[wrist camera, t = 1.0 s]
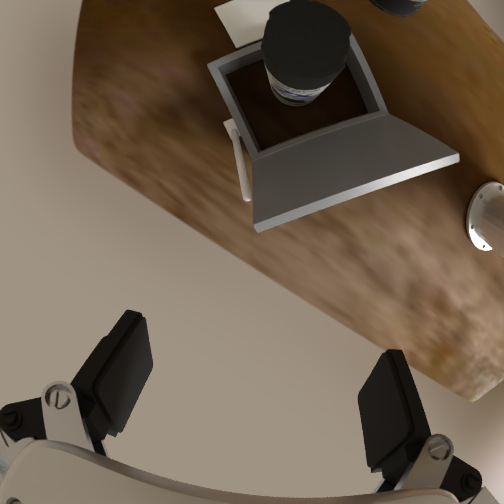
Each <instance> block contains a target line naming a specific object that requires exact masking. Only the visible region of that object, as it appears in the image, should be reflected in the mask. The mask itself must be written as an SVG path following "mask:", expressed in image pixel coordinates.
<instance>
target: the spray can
mask: <svg viewBox="0 0 504 504" xmlns="http://www.w3.org/2000/svg"><path fill="white" fill-rule="evenodd" d="M351 33H352V32H351V28H350V26H349V24H348V22H347V21H346V20H345V18H344V17H343V16H342V15H340V14H339V13H338V12H336V11H335V10H334V9H332V8H331V7H329V6H327V5H324V4H321V3H319V2H317V1H310V0H293V1H288V2H285V3H282V4H279V5H277V6H276V7H274V8H273V9H272V10H271V11H269V19H268V20H267V22H266V26H265V30H264V36H263V38H262V44H261V46H260V47H261V51H262V55H263V60H264V64H265V67H266V71H267V75H268V78H269V82H270V86H271V89H272V92H273V93H274V95H275V96H276V97H277V98H278V99H279V100H280V101H281V102H283V103H285V104H287V105H290V106H304V105H307V104H309V103H311V102H312V101H314V100H315V99H316V98H317V96H318V95H319V94H320V93H321V92H322V91H323V90H324V89H325V88H326V87H328V86H329V85H330V83H331V82H332V81H333V80H334V79H335V78H336V77H337V76H338V74H339V73H340V72H341V71H342V70H343V69H344V68H345V63H346V59H347V54H348V51H349V49H350V38H349V37H350V36H351Z"/></svg>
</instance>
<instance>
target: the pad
mask: <svg viewBox="0 0 504 504" xmlns="http://www.w3.org/2000/svg"><path fill="white" fill-rule="evenodd" d="M288 1H290V0H233V1H230V2H228V3H225V4H223V5H220V6H218V7H216V8H214V9H215V11H216V13H217V14H218V16H219V18H220V19H221V21H222V23H223V25H224V27H225V28H226V30H227V32H228V34H229V36H230V37H231V39H232V41H233V43H234V45H235V47H236V48H237V49H239V48H241V47H243V46H246V45H248V44H251V43H253V42H256V41H259V40H261V39H262V38H263V36H264V30H265V26H266V22H267V20H268V19H269V11H271V10H272V9H273V8H274V7H276V6H277V5H279V4H282V3H285V2H288Z"/></svg>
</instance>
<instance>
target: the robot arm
mask: <svg viewBox="0 0 504 504" xmlns="http://www.w3.org/2000/svg"><path fill="white" fill-rule="evenodd" d="M466 228H467V233H468V236H469V239H470V240H471V242H472V243H473V244H474V245H475V246H476V247H477V248H479V249H481V250H491V249H493V250H495V251H496V252H497V253H498V254H500V255H501V256H502V257H503V258H504V185H502V184H500V183H498V182H495V181H490V182H487V183H485V184H483V185H482V186H480V187H479V189H478V190H477V191H476V192H475V194H474V195H473V197H472V199H471V201H470V204H469V207H468V211H467V218H466ZM152 368H153V360H152V354H151V348H150V342H149V336H148V330H147V323H146V319H145V317H143V316H142V314H141V313H140V312H136V311H132V310H126V311H125V313H124V314H123V315H122V316H121V318H120V319H119V320H118V322H117V323H116V325H115V326H114V327H113V329H112V330H111V331H110V333H109V334H108V335H107V336H105V337H103V338H102V339H101V341H100V342H99V343H98V345H97V346H96V348H95V349H94V350H93V352H92V353H91V354H90V356H89V357H88V359H87V360H86V361H85V363H84V365H83V366H82V367H81V369H80V370H79V372H78V373H77V374H76V376H75V377H74V379H73V380H72V382H71V383H70V384H68V383H66V382H63V381H55V382H52V383H50V384H49V385H47V386H46V387H45V388H44V390H43V392H42V396H41V397H39V398H35V399H30V400H26V401H21V402H16V403H11V404H8V405H5V406H4V407H3V408H2V409H1V410H0V504H499V503H498V502H497V500H496V499H495V498H494V497H493V496H492V494H491V493H490V492H489V491H488V490H487V488H486V487H485V486H484V487H481V486H482V477H481V474H480V472H479V471H478V470H477V469H475V468H473V467H472V466H470V465H468V464H467V463H465V462H464V461H462V460H460V459H459V458H457V457H456V456H454V455H453V453H454V447H453V444H452V441H451V440H450V439H449V438H448V437H446V436H445V435H442V434H434V435H431V432H430V428H429V425H428V422H427V418H426V415H425V412H424V409H423V406H422V403H421V400H420V397H419V394H418V391H417V388H416V385H415V383H414V380H413V377H412V374H411V372H410V369H409V366H408V364H407V361H406V359H405V356H404V354H403V352H402V350H396V349H388V350H387V351H386V352H385V353H382V355H381V356H380V358H379V360H378V362H377V364H376V366H375V367H374V369H373V370H372V372H371V374H370V376H369V377H368V379H367V380H366V382H365V384H364V385H363V387H362V389H361V390H360V392H359V394H358V404H359V410H360V417H361V423H362V430H363V436H364V444H365V451H366V459H367V465H368V467H371V473H375V472H382V475H383V478H382V479H381V481H380V482H379V484H378V485H377V486H376V488H375V489H374V491H373V492H372V493H371V494H364V495H354V496H343V497H329V498H328V497H327V498H286V497H285V498H284V497H269V496H257V495H248V494H240V493H232V492H226V491H220V490H215V489H210V488H205V487H200V486H195V485H191V484H187V483H182V482H179V481H175V480H171V479H168V478H165V477H161V476H158V475H155V474H152V473H149V472H146V471H143V470H140V469H137V468H134V467H131V466H128V465H126V464H123V463H120V462H118V461H115V460H113V459H110V457H109V455H108V452H107V449H106V446H105V444H104V441H103V440H104V439H105V437H106V435H107V434H109V435H111V436H114V437H116V436H117V433H118V432H119V433H121V432H122V431H123V429H124V427H125V425H126V423H127V420H128V419H129V417H130V414H131V412H132V410H133V408H134V406H135V404H136V401H137V400H138V397H139V395H140V393H141V391H142V389H143V387H144V385H145V383H146V381H147V379H148V377H149V375H150V373H151V371H152Z"/></svg>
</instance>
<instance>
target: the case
mask: <svg viewBox="0 0 504 504" xmlns="http://www.w3.org/2000/svg"><path fill="white" fill-rule="evenodd" d="M349 38H350V49H349V51H348V54H347V59H346V63H347V65H348V67H349V70H350V72H351V74H352V76H353V78H354V80H355V83H356V85H357V87H358V89H359V92H360V94H361V96H362V99H363V101H364V104H365V106H366V109H367V111H368V113H366V114H362V115H359V116H356V117H352V118H349V119H346V120H343V121H340V122H337V123H334V124H331V125H328V126H325V127H322V128H319V129H316V130H313V131H310V132H308V133H305V134H302V135H299V136H297V137H294V138H291V139H289V140H286V141H283V142H281V143H278V144H276V145H273V146H270V147H268V148H266V149H263V150H261V149H260V147H259V145H258V142H257V140H256V138H255V136H254V133H253V131H252V129H251V127H250V125H249V123H248V120H247V118H246V116H245V114H244V112H243V110H242V108H241V106H240V103H239V101H238V99H237V97H236V95H235V93H234V91H233V89H232V87H231V85H230V83H229V81H228V79H227V77H226V74H229V73H231V72H233V71H235V70H238V69H240V68H242V67H245V66H247V65H250V64H252V63H255V62H257V61H260V60H262V59H263V55H262V51H261V47H260V46H261V44H262V41H260V42H258V43H255V44H253V45H250V46H247V47H245V48H243V49H240V50H238V51H235V52H233V53H231V54H228V55H226V56H224V57H222V58H220V59H217V60H215V61H213V62H211V63H209V64H207V66H208V68H209V70H210V72H211V74H212V76H213V78H214V80H215V82H216V84H217V86H218V88H219V90H220V92H221V95H222V97H223V99H224V101H225V103H226V105H227V107H228V109H229V111H230V113H231V115H232V119H229V120H227V121H225V122H223V123H224V125H225V127H226V129H227V132H228V134H229V136H230V138H231V140H232V141H233V147H234V152H235V157H236V163H237V168H238V173H239V179H240V184H241V189H242V195H243V199H244V200H245V201H250V200H251V198H252V195H251V191H250V186H249V181H248V177H247V172H246V168H245V163H244V158H243V154H242V149H241V145H240V140H239V137H240V136H241V137H242V139H243V141H244V143H245V146H246V148H247V150H248V152H249V154H250V157H251V159H252V174H253V225H254V227H255V229H256V231H257V233H258V232H261V231H264V230H266V229H269V228H272V227H275V226H277V225H280V224H283V223H285V222H288V221H291V220H294V219H296V218H299V217H302V216H305V215H307V214H310V213H313V212H316V211H318V210H321V209H324V208H327V207H330V206H332V205H335V204H338V203H341V202H344V201H346V200H349V199H352V198H355V197H358V196H360V195H363V194H366V193H369V192H372V191H375V190H378V189H380V188H383V187H386V186H389V185H392V184H395V183H398V182H401V181H404V180H407V179H409V178H412V177H415V176H418V175H421V174H424V173H427V172H430V171H433V170H436V169H439V168H442V167H445V166H448V165H451V164H454V163H457V162H459V153H458V152H456V151H455V150H453V149H452V148H450V147H449V146H447V145H445V144H444V143H442V142H441V141H439V140H437V139H436V138H434V137H432V136H430V135H429V134H427V133H425V132H423V131H422V130H420V129H418V128H416V127H414V126H412V125H411V124H409V123H407V122H405V121H403V120H401V119H399V118H397V117H395V116H393V115H391V114H389V113H388V111H387V108H386V105H385V103H384V100H383V98H382V95H381V93H380V90H379V88H378V86H377V83H376V81H375V79H374V76H373V74H372V72H371V70H370V68H369V66H368V63H367V61H366V59H365V57H364V55H363V53H362V51H361V49H360V47H359V45H358V43H357V41H356V40H355V38H354V36H353V34H352V33H351V36H350V37H349Z"/></svg>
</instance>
